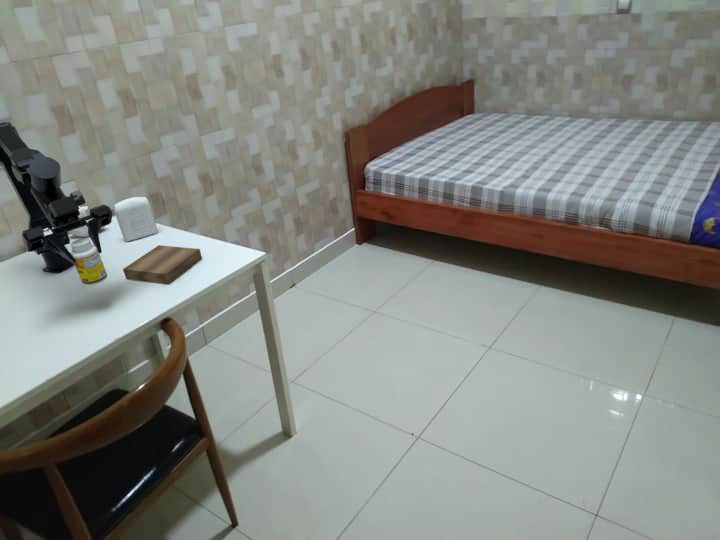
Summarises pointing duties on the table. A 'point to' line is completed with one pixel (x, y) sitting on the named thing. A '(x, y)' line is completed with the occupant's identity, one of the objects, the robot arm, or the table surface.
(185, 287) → the table surface
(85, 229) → the bust
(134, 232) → the photo printer
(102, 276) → the supplement bottle
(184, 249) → the walnut stand
